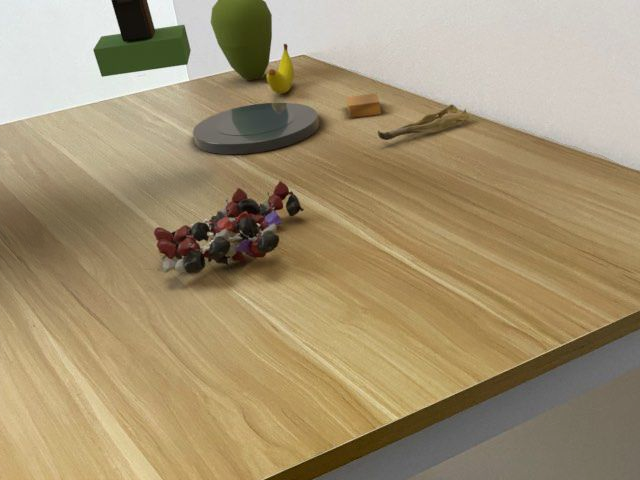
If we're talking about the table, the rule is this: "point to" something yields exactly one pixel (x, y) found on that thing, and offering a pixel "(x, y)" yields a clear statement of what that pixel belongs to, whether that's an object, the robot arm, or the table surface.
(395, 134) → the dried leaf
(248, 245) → the dark lumpy cluster
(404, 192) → the table surface
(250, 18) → the green mango
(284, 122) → the plate
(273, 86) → the fruit
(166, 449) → the table surface
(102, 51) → the sponge brush
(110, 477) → the table surface
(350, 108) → the orange flat block
